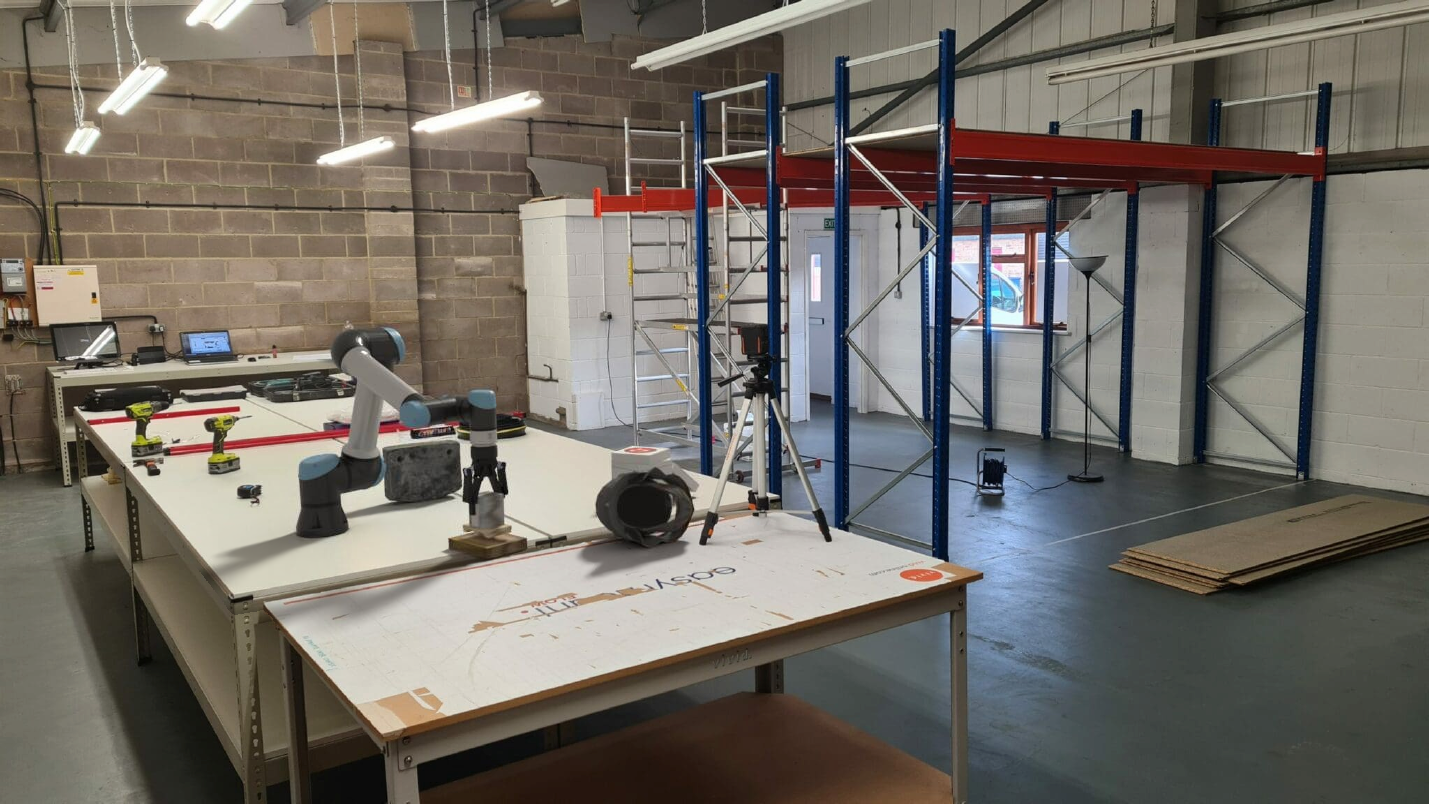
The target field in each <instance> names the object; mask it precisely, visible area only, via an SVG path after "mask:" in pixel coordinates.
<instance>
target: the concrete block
mask: <svg viewBox="0 0 1429 804" xmlns="http://www.w3.org/2000/svg"><path fill="white" fill-rule="evenodd" d="M382 456H383V458H384V464H385V465H386V470H385V475H384V478H383V485H384V486H383V487H384V497H385V498H386V499H387V500H388V501H391V502H402V503H404V502H405V503H406V502H407V503H409V502H410V503H411V502H412V503H413V502H414V503H415V502H417V503H418V502H426V501H433V500H437V499H440V498H443V497H446V496H449V495H451V494H454V493H457V492H459V491H460V490H461V489H462V488H463V480H462V479H463V477H462V476H463V475H462V473H463V472H462V462H461V444H460V442H459V441H458V440H453V439H445V440H442V439H441V440H434V441H433V440H432V441H430V440H429V441H422V442H421V441H420V442H412V443H411V442H410V443H404V444H397V445H389V446H384V447H382Z"/></svg>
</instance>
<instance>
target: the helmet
mask: <svg viewBox="0 0 1429 804" xmlns="http://www.w3.org/2000/svg"><path fill="white" fill-rule="evenodd" d="M653 479H658V480H660V479H661V480H663V481H664V482H665V483H667V484H663V483H658V482H656V481H654V480H653ZM669 494H671V495H672V496H673V498H675V507H676V508H675V515H674V519H672V520H670V519H671V517H672V511H673V502H672V499H671V497H670V495H669ZM595 499H596V500H595V514H596V516H597V518H598V520H599V522H600V523H601V524H602V525H603V527H604V528H606V530H608V531H609V532H612V534H613V535H614V537H616V538H617V539H619V540H625V541H628V542H637V543H639V544H641V545H642V546H644V547H646V548H648V549H652V548H653V547H656V546H657V545H658V544H660V543H661V542H664V543H667V544H670V543H674V542H677V541H678V540H679V539H681V538H682V536H683V535H684V534H685V533H686V532H687V529H688V528H689V525H690V523H691V520H692V517H693V515H694V513H695V505H694V503H693V502H694V501H693V499H692V494H691V491H690V490H689V488H688V486H687V484H686V483H685V481H684V480H683V479H682V478H681V477H680V476H677V475H675V474H668V475H665V474H664V473H663V472H662V471H661V470H660V469H659V468H657V467H654V468H652V469H651V470H649V471H647V472H636V471H633V472H624V473H621V474H619V475H618V477H617V478H615V479H613V480H612V479H611V480H609V482H607V483H606V484H605V485H603V486H602V487H601V489H600V490H599V492H598V493H597V496H596V498H595ZM669 520H670V521H669ZM655 533H660V534H659V535H653V534H655Z"/></svg>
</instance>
